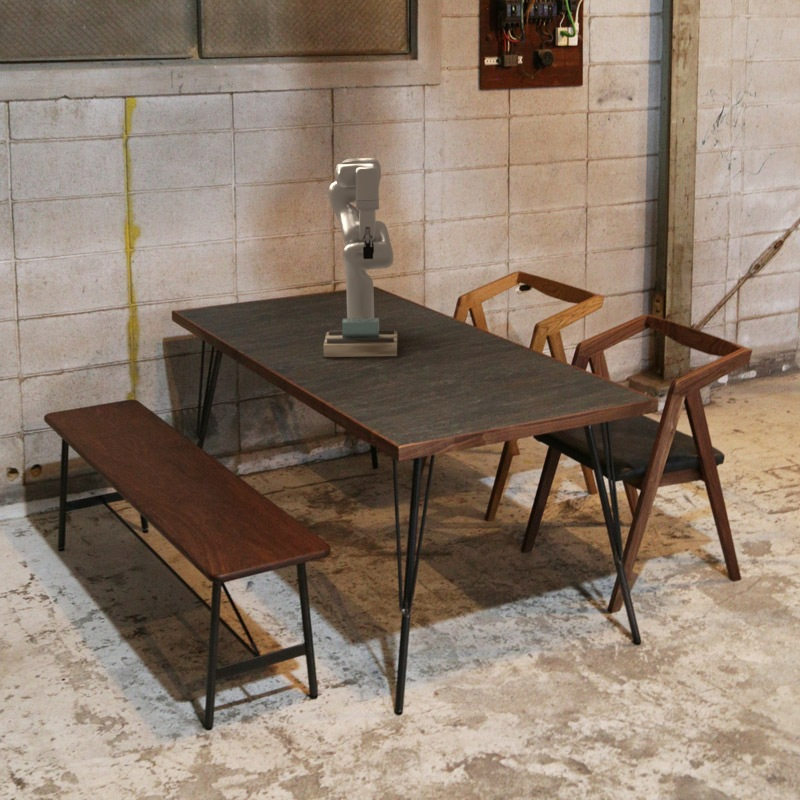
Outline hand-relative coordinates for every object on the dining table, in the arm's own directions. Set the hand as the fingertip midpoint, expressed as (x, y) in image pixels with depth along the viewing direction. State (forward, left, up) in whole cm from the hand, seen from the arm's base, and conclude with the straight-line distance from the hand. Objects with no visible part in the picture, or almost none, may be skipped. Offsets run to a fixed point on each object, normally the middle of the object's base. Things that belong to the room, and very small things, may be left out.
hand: (368, 256), depth 430 cm
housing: (+7, -3, -26) cm, 27 cm away
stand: (+7, -3, -30) cm, 31 cm away
